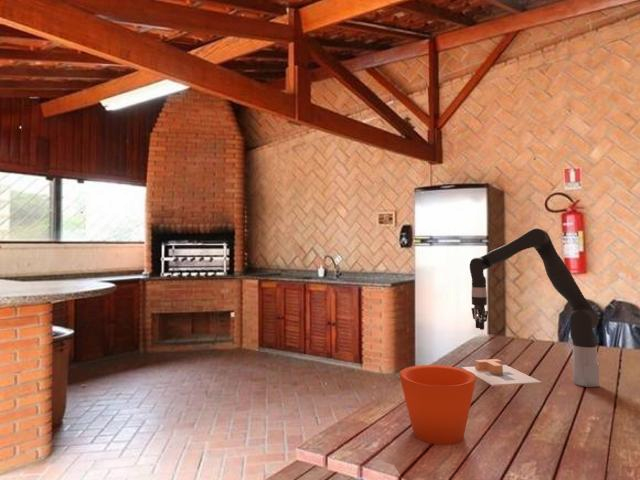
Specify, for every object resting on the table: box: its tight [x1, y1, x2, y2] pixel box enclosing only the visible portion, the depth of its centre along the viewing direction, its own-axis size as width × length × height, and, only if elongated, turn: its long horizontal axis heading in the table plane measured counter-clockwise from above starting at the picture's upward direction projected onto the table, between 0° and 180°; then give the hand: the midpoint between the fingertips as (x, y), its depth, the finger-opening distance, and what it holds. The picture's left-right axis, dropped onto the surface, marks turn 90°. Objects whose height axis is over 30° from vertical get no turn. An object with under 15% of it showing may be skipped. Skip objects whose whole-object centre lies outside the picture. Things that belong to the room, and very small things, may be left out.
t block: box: [474, 358, 504, 374], centre depth 223 cm, size 12×12×4 cm
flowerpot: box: [398, 364, 477, 446], centre depth 151 cm, size 25×25×20 cm
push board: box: [461, 364, 542, 387], centre depth 217 cm, size 30×24×1 cm
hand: (479, 328), depth 235 cm, fingers open, 3 cm apart
